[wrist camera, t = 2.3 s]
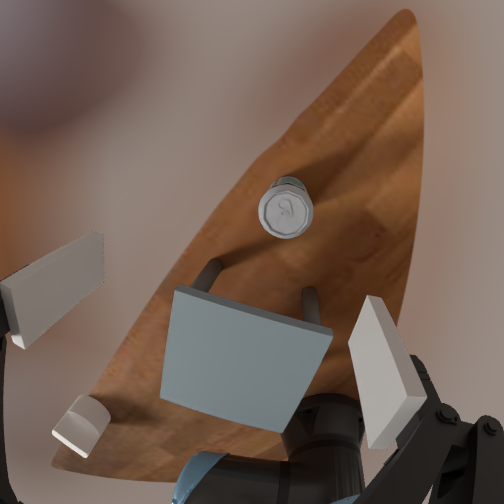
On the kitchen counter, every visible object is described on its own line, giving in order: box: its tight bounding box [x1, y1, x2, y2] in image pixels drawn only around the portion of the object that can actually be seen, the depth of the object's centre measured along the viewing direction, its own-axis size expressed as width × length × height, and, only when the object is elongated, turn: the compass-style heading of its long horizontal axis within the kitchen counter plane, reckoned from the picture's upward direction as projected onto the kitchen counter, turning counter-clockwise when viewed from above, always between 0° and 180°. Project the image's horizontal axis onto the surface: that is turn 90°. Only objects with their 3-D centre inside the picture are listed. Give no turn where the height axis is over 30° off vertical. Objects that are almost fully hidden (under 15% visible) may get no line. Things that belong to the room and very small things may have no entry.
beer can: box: [258, 176, 314, 239], centre depth 31 cm, size 5×5×12 cm
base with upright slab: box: [52, 395, 111, 458], centre depth 50 cm, size 9×9×12 cm
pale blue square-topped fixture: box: [160, 259, 333, 433], centre depth 37 cm, size 16×16×12 cm
